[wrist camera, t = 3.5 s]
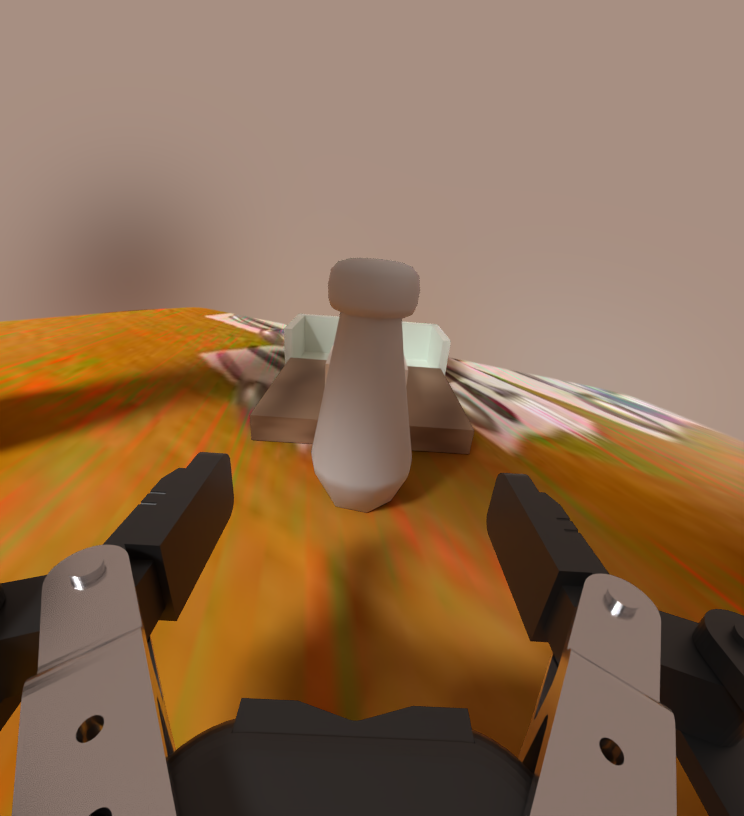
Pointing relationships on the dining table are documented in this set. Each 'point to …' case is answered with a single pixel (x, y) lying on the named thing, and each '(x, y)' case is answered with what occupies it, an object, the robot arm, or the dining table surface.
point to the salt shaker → (366, 385)
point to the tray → (318, 335)
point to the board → (302, 396)
